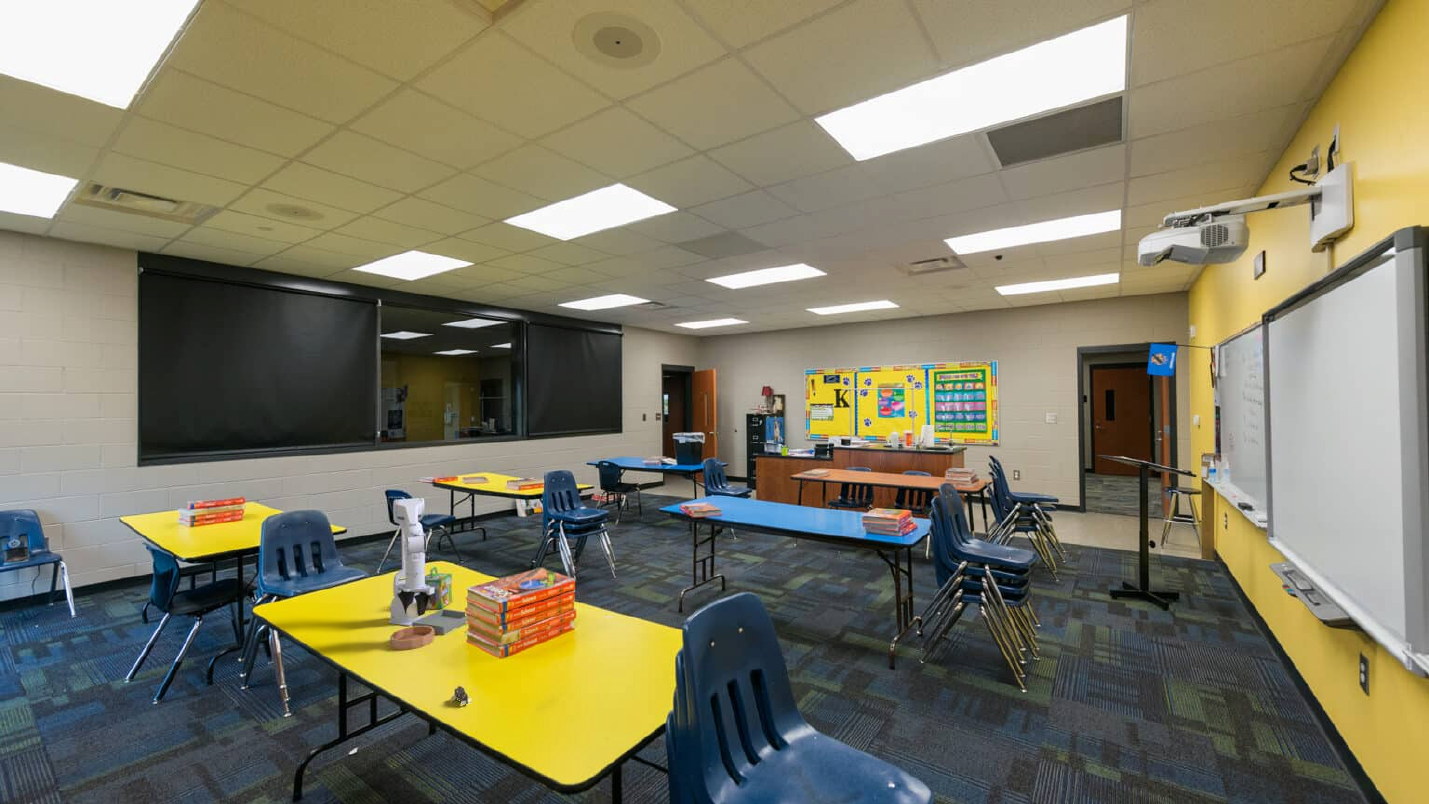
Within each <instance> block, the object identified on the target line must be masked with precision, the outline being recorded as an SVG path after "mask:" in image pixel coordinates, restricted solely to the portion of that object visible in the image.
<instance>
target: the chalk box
mask: <svg viewBox="0 0 1429 804" xmlns="http://www.w3.org/2000/svg"><path fill="white" fill-rule="evenodd" d="M429 570H430V573H428V574H425V584H426V585H428V586H431V587H434V593H433V594H432V596H431V597H430V599H429V601H428V604H427V607H426V610H442V609H445V607H446V605H447V606H448V605H450V604H451V603H452V602H453V600H452V599H453V590H452V589H453V587H452V585H453V576H452V575H453V574H452V573H442V572H441V573H439V572H438V568H437V566H433V567H432V568H430V569H429ZM434 571H435V573H434ZM450 602H451V603H450ZM449 603H450V604H449Z"/></svg>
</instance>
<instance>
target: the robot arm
mask: <svg viewBox="0 0 1429 804" xmlns="http://www.w3.org/2000/svg"><path fill="white" fill-rule="evenodd" d="M392 510H393V511H392V512H393V514H392V515H393V522H394V523H395V524H399V527H400V529H401V562H402V563H401V569H400V570H399V571H398V572H396V574H395V575H394V576H393V584H392V585H393V586H392V589H393V591H392V592H393V598H392V600H391V603H390V620H388V624H393V625H400V626H404V627H405V626H407V627H410V626H412V622H414V621H416V620H418V619H421V618H423V617H424V616H423V615H426V610H427V609H426V607H427V604H428V601H429V599H430V597H431V596H432V594H433V593H434V587H431V586H428V585H426V584H425V576H426V553H427V549H428V543H427V542H428V540H427V535H426V533H424V529H423V525H422V524H421V522H420V521H422V519H423V517H424V513H425V500H424V498H423V497H416V498H404V499H403V498H402V499H394V500H393V503H392ZM415 602H416V603H417V612H418V616H419V617H418V618H410V617H408V615H407V612H406V611H407V608H408V606H409V605H410V604H412V603H415Z"/></svg>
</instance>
